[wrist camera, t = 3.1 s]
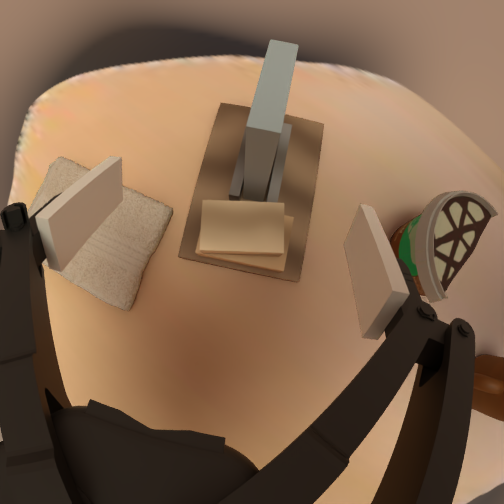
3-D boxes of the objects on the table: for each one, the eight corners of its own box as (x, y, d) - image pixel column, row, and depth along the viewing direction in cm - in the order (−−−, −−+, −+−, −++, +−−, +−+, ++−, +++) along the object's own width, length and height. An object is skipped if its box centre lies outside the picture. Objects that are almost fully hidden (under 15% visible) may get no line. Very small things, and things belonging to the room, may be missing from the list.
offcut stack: (280, 272, 29) (287, 269, 24) (198, 255, 29) (190, 248, 24) (290, 219, 30) (299, 206, 25) (211, 203, 30) (206, 186, 25)
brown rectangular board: (297, 282, 30) (303, 281, 27) (180, 257, 30) (173, 253, 27) (321, 128, 32) (328, 114, 30) (221, 107, 32) (220, 92, 29)
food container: (417, 191, 32) (466, 161, 22) (446, 229, 32) (500, 210, 22) (355, 259, 31) (401, 246, 21) (389, 301, 30) (443, 303, 20)
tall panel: (262, 202, 30) (281, 133, 16) (243, 198, 30) (246, 126, 16) (276, 135, 31) (298, 44, 17) (258, 131, 31) (270, 39, 17)
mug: (427, 396, 29) (474, 420, 20) (450, 339, 30) (501, 348, 21) (479, 408, 29) (521, 425, 19) (498, 359, 30) (543, 367, 20)
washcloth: (63, 159, 31) (51, 150, 28) (179, 209, 31) (173, 201, 28) (23, 244, 30) (9, 240, 27) (133, 312, 30) (122, 314, 26)
